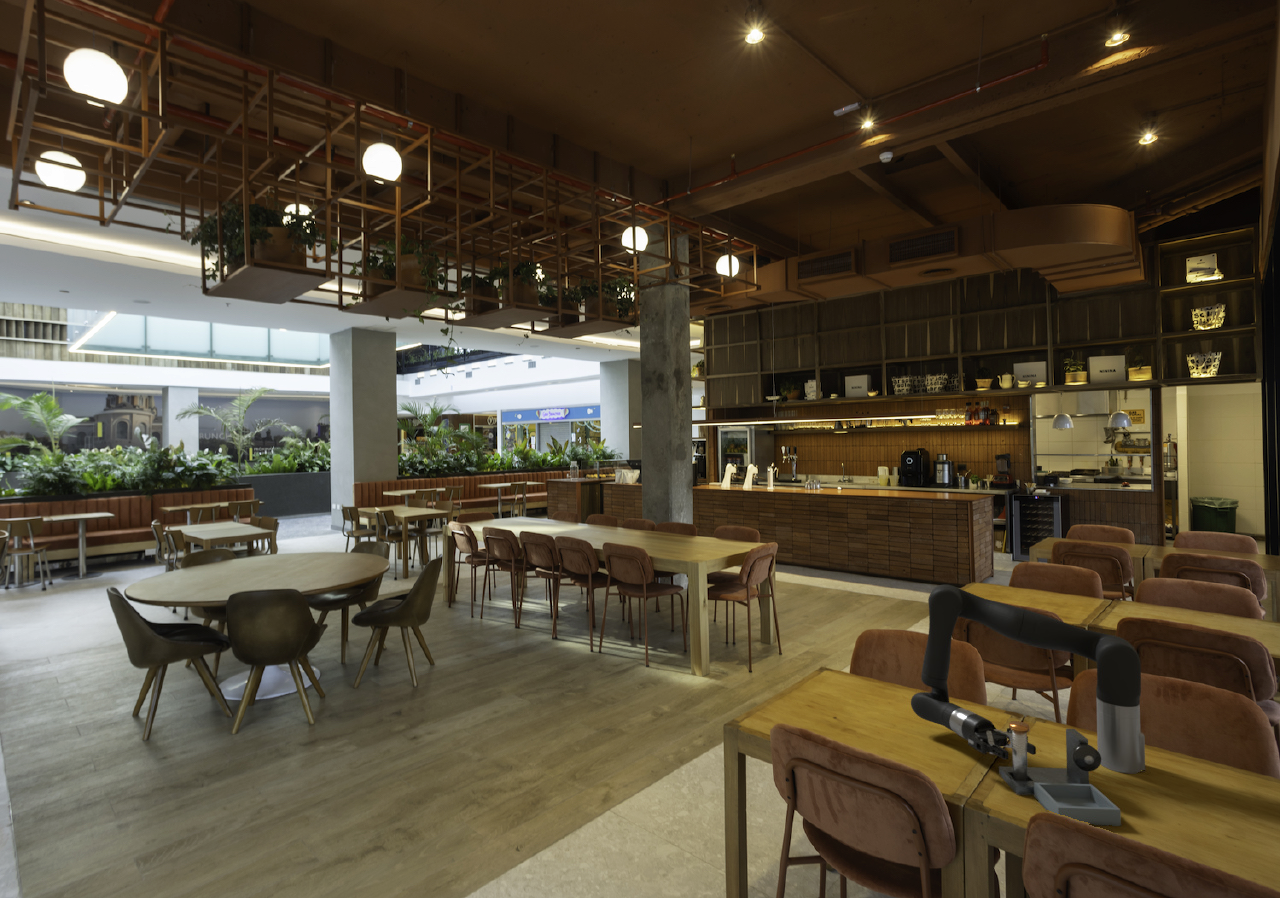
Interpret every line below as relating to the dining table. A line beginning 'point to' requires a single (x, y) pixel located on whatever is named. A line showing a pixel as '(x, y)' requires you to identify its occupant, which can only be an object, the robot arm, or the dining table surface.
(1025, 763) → the lock pin
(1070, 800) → the tray
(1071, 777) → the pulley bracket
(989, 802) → the dining table surface
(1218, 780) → the dining table surface
